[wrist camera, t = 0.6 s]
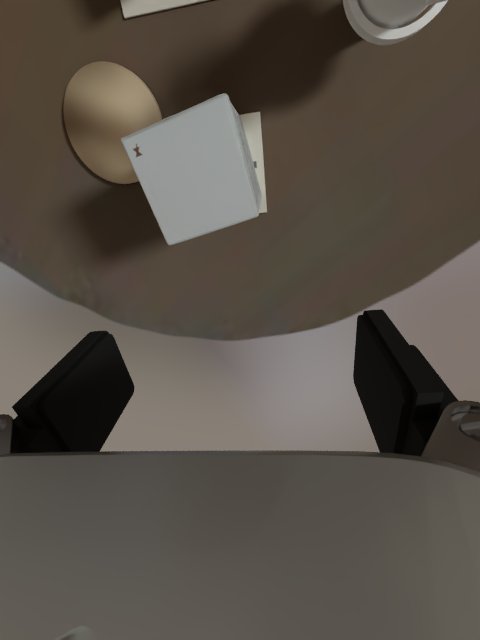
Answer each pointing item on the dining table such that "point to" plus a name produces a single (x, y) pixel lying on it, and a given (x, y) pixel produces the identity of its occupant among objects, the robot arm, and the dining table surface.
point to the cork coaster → (107, 117)
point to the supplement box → (196, 170)
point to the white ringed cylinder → (389, 18)
